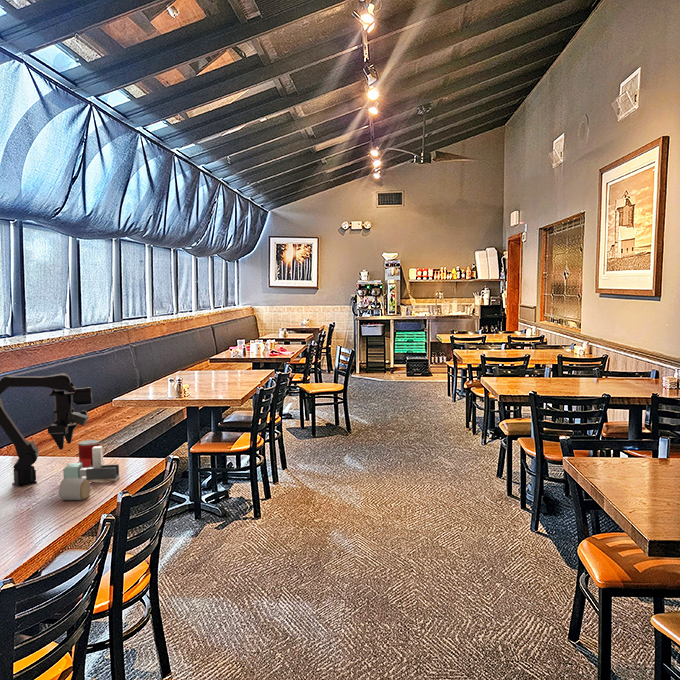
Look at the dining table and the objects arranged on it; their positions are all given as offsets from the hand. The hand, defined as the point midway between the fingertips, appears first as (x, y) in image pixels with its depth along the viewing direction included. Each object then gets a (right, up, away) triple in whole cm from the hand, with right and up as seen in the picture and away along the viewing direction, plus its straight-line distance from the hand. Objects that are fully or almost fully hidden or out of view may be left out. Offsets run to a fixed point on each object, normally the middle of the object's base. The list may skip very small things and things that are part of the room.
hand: (65, 446), depth 223 cm
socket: (+4, -12, -2) cm, 13 cm away
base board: (+10, -13, -1) cm, 17 cm away
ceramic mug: (+14, -15, -21) cm, 29 cm away
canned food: (+2, -12, +16) cm, 20 cm away
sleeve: (+15, -12, 0) cm, 19 cm away
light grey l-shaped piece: (+9, -11, -1) cm, 14 cm away
